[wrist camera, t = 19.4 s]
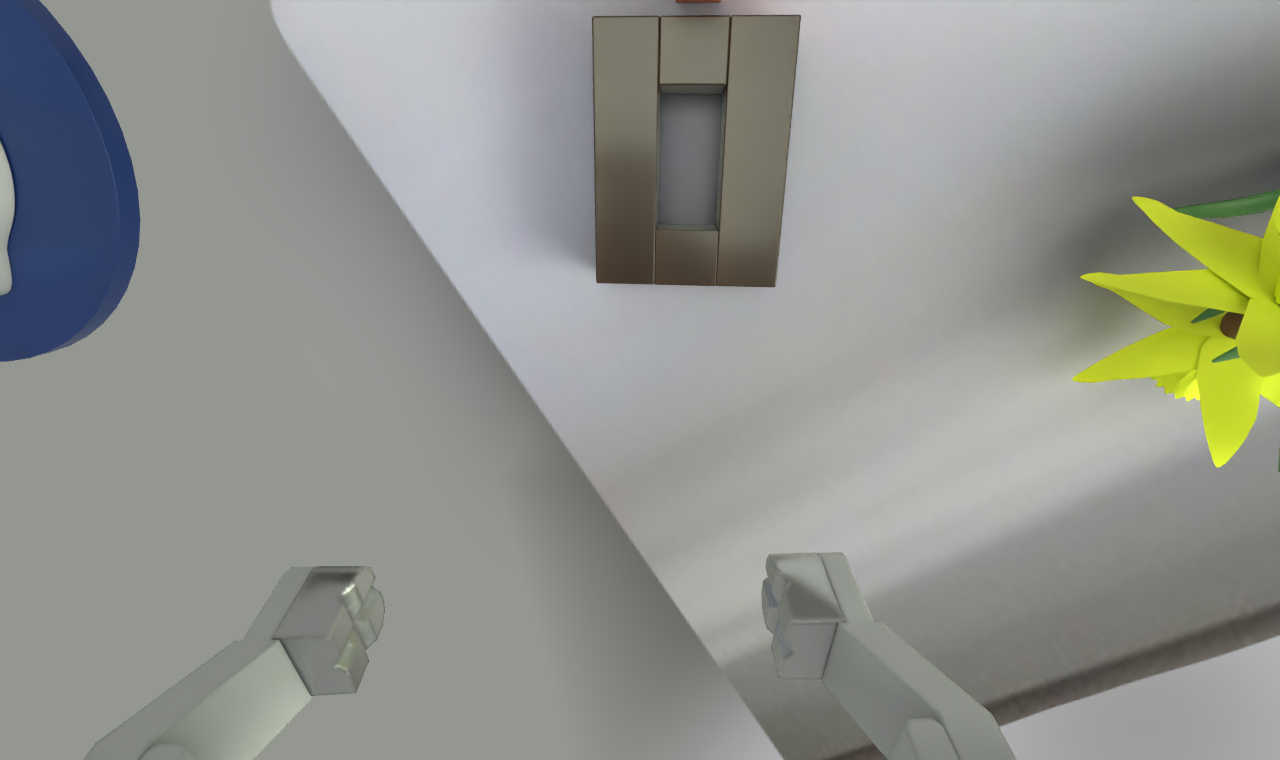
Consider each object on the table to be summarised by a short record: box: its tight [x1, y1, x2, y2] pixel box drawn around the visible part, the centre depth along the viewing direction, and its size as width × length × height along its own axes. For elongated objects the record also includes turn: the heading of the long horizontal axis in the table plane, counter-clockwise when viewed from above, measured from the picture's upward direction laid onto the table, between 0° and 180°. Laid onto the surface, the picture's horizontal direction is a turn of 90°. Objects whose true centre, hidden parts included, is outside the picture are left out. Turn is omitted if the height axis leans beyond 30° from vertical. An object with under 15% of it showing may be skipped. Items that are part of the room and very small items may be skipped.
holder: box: [592, 15, 801, 287], centre depth 31 cm, size 10×13×4 cm
